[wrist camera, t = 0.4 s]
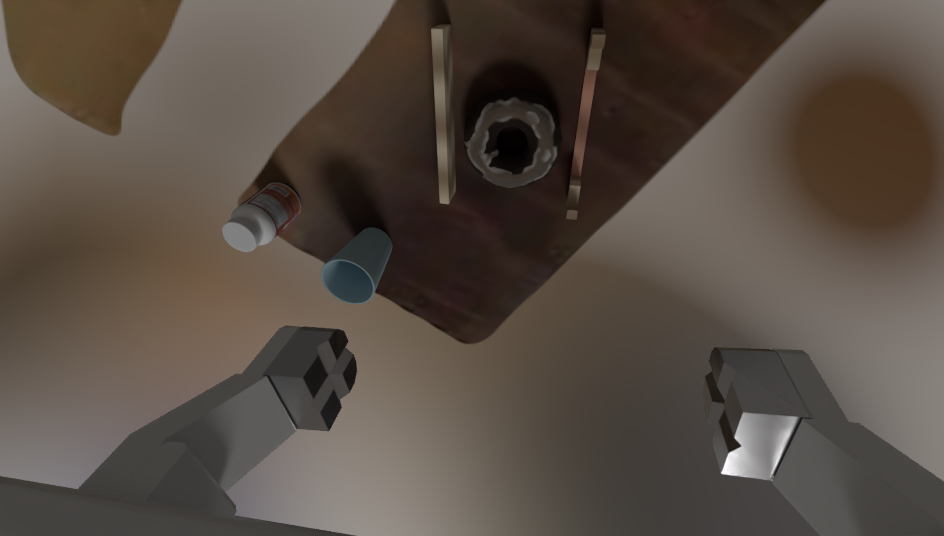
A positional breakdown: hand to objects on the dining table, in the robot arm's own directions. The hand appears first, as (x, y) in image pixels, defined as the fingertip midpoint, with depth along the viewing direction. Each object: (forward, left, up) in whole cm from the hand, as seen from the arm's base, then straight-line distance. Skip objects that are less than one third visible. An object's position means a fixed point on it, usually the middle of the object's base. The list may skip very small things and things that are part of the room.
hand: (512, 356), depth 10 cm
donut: (+11, -5, -46) cm, 48 cm away
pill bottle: (+23, -39, -46) cm, 65 cm away
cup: (+29, -25, -46) cm, 60 cm away
